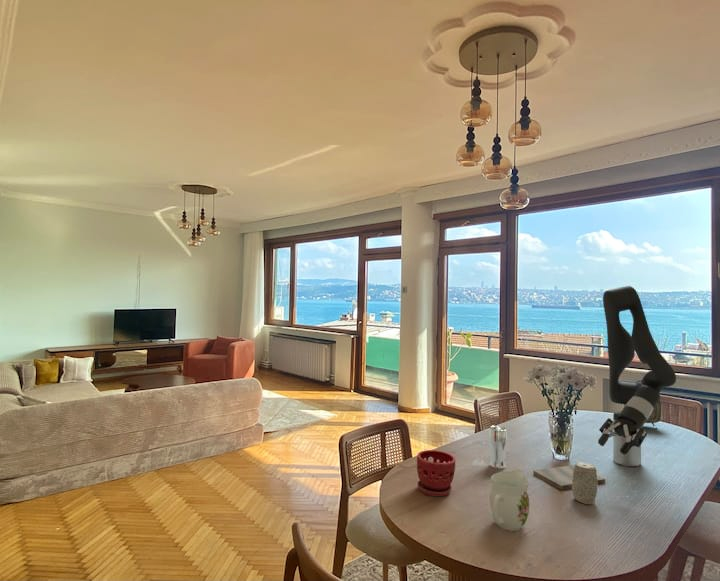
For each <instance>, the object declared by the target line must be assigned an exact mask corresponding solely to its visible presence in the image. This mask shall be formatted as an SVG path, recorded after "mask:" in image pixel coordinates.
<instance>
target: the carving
mask: <svg viewBox="0 0 720 581" xmlns="http://www.w3.org/2000/svg"><path fill="white" fill-rule="evenodd" d="M574 465H575V467H574V471H573V481H572V488H571V492H572V496H573V498H574V499H575V500H576V501H577V502H578V503H579V502H580V503H582V504H585V505H594V503H595V501H596V497H597V494H598V486H599V484H598V483H597V476H598V475H597V474H598V473H597V468H596V467H595V466H594V465H593V464H590V463H588V462H584V461H579V462H576V463H575V464H574Z"/></svg>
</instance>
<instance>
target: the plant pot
mask: <svg viewBox="0 0 720 581" xmlns="http://www.w3.org/2000/svg"><path fill="white" fill-rule="evenodd" d="M429 458H432V459H433V461H429ZM416 471H417V476H418V479H419V480H418V482H417V488H418V489H419V491H421V492H422V493H424V494H426V495H428V496H431V497H432V496H433V497H443V496H447V495H448V494H449V493H450V492H452V482H453V479H454V476H455V472H456V458H455V457H454V456H453V455H452V454H450V453H448V452H445V451H442V450H441V451H440V450H434V449H429V450H422V451H419V452H418V453H417V456H416Z"/></svg>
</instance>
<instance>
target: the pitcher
mask: <svg viewBox="0 0 720 581" xmlns="http://www.w3.org/2000/svg"><path fill="white" fill-rule="evenodd" d="M490 479H491V483H492V486H491V489H490V490H491V491H490V495H489V505H490V510H491V513H492V519H493V521H494V523H495V524H496V525H498V526H499V528H501V529H503V530H506V531H510V532H516V531H519V530H520V531H521V529H522V528H523V527H524V526H525V524H526V522H527V519H528V517H529V513H530V497H529V493H528V486H529V480H528V478H526V476H525V472H524V471H523V470H520V469H513V470H510V471H509V470H508V471H500V472H495V473H494V474H492V475H491V478H490Z"/></svg>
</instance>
